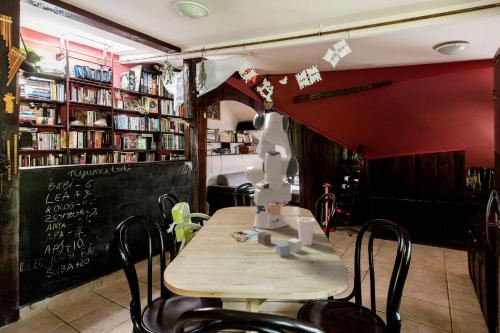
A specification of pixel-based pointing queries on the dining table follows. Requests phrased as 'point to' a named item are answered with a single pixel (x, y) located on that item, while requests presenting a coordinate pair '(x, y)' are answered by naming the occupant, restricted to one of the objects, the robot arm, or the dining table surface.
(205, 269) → the dining table surface
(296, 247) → the pale grey cube
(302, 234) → the foam cup
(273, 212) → the terracotta cube
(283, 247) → the slate blue cube
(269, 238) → the walnut cube
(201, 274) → the dining table surface
